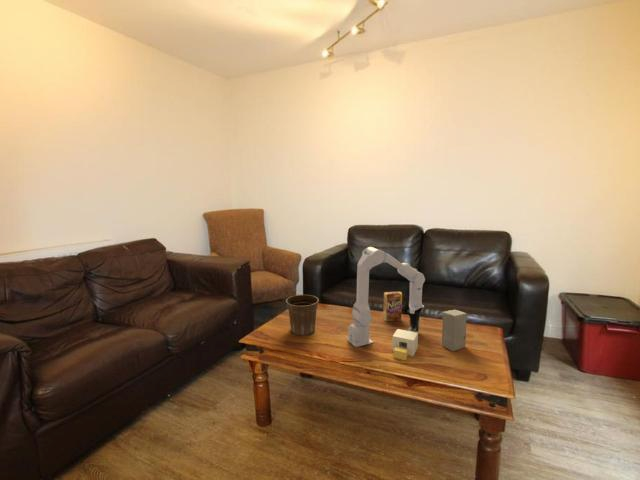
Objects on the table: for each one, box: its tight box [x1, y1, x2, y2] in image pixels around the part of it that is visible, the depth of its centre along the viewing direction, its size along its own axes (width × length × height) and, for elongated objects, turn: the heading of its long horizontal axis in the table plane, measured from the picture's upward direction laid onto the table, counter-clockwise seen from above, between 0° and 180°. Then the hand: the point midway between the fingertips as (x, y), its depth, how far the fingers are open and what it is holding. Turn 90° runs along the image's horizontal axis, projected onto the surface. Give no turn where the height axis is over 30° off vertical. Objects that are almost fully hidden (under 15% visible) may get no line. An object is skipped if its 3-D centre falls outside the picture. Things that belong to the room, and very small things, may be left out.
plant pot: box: [285, 294, 320, 336], centre depth 159 cm, size 16×16×16 cm
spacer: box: [393, 347, 408, 361], centre depth 133 cm, size 4×5×3 cm
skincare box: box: [441, 309, 467, 352], centre depth 140 cm, size 8×7×16 cm
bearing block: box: [391, 328, 419, 357], centre depth 139 cm, size 8×9×7 cm
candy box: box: [382, 291, 403, 322], centre depth 171 cm, size 9×4×15 cm, turn 98°
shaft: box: [402, 318, 421, 346], centre depth 147 cm, size 21×4×6 cm, turn 151°
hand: (414, 322), depth 155 cm, fingers open, 5 cm apart
